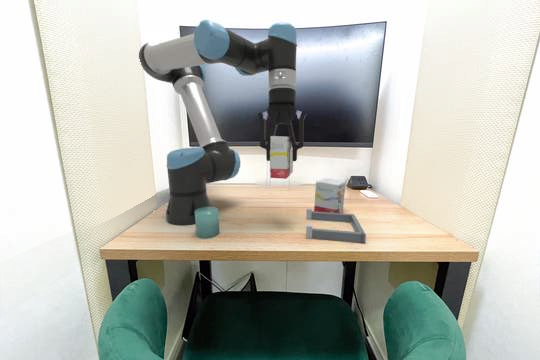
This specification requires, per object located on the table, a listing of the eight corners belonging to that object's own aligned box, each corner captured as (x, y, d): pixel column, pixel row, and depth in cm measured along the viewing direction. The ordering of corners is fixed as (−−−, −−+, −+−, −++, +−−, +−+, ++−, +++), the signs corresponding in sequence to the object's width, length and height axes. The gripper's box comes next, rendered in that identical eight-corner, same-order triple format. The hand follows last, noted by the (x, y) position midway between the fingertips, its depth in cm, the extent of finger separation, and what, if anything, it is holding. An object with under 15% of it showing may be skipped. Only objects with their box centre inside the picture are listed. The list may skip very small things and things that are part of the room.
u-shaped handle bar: (305, 238, 58) (306, 226, 57) (306, 217, 73) (306, 207, 72) (365, 243, 55) (366, 231, 55) (353, 221, 70) (354, 210, 70)
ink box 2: (335, 217, 74) (338, 184, 71) (313, 212, 79) (314, 180, 76) (343, 210, 80) (346, 180, 78) (322, 206, 85) (324, 177, 83)
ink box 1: (286, 179, 59) (287, 135, 56) (269, 178, 60) (269, 136, 58) (291, 174, 67) (292, 136, 65) (276, 173, 68) (276, 136, 66)
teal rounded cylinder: (191, 237, 58) (190, 213, 57) (203, 227, 64) (201, 206, 63) (213, 239, 57) (212, 215, 56) (222, 229, 63) (221, 207, 62)
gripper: (246, 88, 57) (248, 173, 61) (315, 84, 53) (312, 175, 58) (254, 93, 64) (255, 169, 69) (315, 90, 61) (312, 170, 65)
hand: (281, 171), depth 63 cm, fingers closed on ink box 1, 5 cm apart
